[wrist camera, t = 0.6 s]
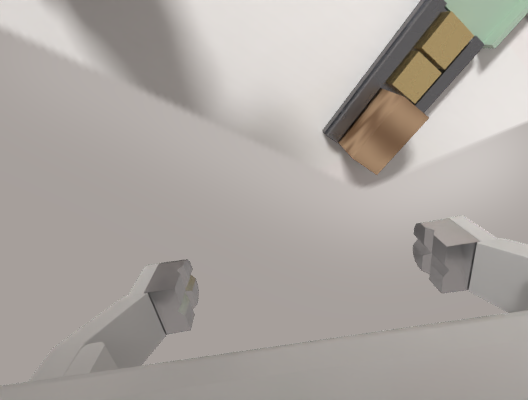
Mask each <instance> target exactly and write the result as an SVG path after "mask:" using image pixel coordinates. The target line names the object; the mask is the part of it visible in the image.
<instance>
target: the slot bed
mask: <svg viewBox="0 0 528 400" xmlns="http://www.w3.org/2000/svg"><path fill="white" fill-rule="evenodd" d="M446 4H447V3H446V2H445V1H444V0H421V1H420V2H419V3H418V5H417V6H416V7H415V9H414V10H413V11H412V13H411V14H410V15H409V17H408V18H407V19H406V21H405V22H404V23H403V25H402V26H401V27H400V29H399V30H398V31H397V33H396V34H395V35H394V37H393V38H392V39H391V41H390V42H389V43H388V45H387V46H386V47H385V48H384V50H383V51H382V52H381V54H380V55H379V56H378V58H377V59H376V60H375V62H374V63H373V64H372V66H371V67H370V68H369V70H368V71H367V72H366V74H365V75H364V76H363V78H362V79H361V80H360V82H359V83H358V84H357V86H356V87H355V88H354V90H353V91H352V92H351V94H350V95H349V96H348V97H347V99H346V100H345V101H344V103H343V104H342V105H341V107H340V108H339V109H338V111H337V112H336V113H335V115H334V116H333V117H332V119H331V120H330V121H329V123H328V124H327V125H326V127H325V128H324V129H323V132H324V133H325V134H326V135H327V136H328V137H330V138H331V139H332V140H334V141H335V142H339V141H340V139H341V138H342V137H343V136H344V134H345V133H346V132H347V131H348V129H349V128H350V127H351V126H352V124H353V123H354V122H355V121H356V119H357V118H358V117H359V116H360V114H361V113H362V112H363V111H364V109H365V108H366V107H367V106H368V104H369V103H370V102H371V101H372V99H373V98H374V97H375V95H376V94H377V93H378V92H379V90H380V89H381V88H382V89H385V90H387V91H390V92H393V93H395V94H398V95H401V94H399V93H398V92H397V91H396V90H395V89H393V88H392V87H391V86H390V85H389V84H388V83H386V82H387V80H388V79H389V78H390V77H391V75H392V74H393V73H394V72H395V70H396V69H397V68H398V67H399V65H400V64H401V63H402V62H403V60H404V59H405V58H406V57H407V55H408V54H409V53H410V52H411V51H417V50H416V49H415V48H414V47H415V45H416V44H417V43H418V42H419V40H420V39H421V38H422V37H423V35H424V34H425V33H426V32H427V30H428V29H429V28H430V27H431V25H432V24H433V23H434V21H435V20H436V19H437V18H438V16H439V15H440V14H441V13H442V12H447V10H446V9H445V8H444V7H445V6H446ZM484 45H485V44H484V43H483V42H482V41H481V40H480V39H479V38H478V37H477V36H474V37H473V38H472V39H471V40H470V41H469V42H468V44H467V45H466V46H465V47H464V48H463V49H462V50H461V52H460V53H459V54H458V55H457V56H456V57H455V58H454V60H453V61H452V62H451V63H450V64H449V65H448V67H447V68H446V69H445V70H443V69H438V70H439V71H440V72H441V75H440V76H439V77H438V78H437V79H436V80H435V81H434V83H433V84H432V85H431V86H430V87H429V88H428V89H427V91H426V92H425V93H424V94H423V95H422V96H421V98H420V99H419V100H418V101H417V102H416V103H412V102H411V103H412V104H413V105H415V106H416V107H417V108H418V109H419V110H420V111H422V112H423V113H424V112H425V111H426V110H427V109H428V108H429V107H430V105H431V104H432V103H433V102H434V101H435V100H436V99H437V98H438V96H439V95H440V94H441V93H442V92H443V91H444V90H445V89H446V88H447V86H448V85H449V84H450V83H451V82H452V81H453V80H454V79H455V78H456V76H457V75H458V74H459V73H460V72H461V71H462V70H463V69H464V67H465V66H466V65H467V64H468V63H469V62H470V61H471V60H472V59H473V57H474V56H475V55H476V54H477V53H478V52H479V51H480V50H481V49H482V47H483V46H484ZM401 96H402V95H401Z"/></svg>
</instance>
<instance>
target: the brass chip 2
mask: <svg viewBox="0 0 528 400" xmlns="http://www.w3.org/2000/svg"><path fill="white" fill-rule="evenodd" d="M473 37H474V35H473V34H472V33H471V32H470V30H469V29H468V28H467V27H466V26H465V25H464V24H463V23H462V22H461V21H460V20H459V18H458V17H457V16H456V15H455V14H454V13H453V12H452V11H447V12H442V13H441V14H440V15H439V16H438V18H437V19H436V20H435V21H434V23H433V24H432V25H431V27H430V28H429V29H428V30H427V32H426V33H425V34H424V35H423V37H422V38H421V39H420V40H419V42H418V43H417V44H416V45H415V47H414V48H415V49H416V50H417V51H419V52H420V53H421V54H422V55H423V56H424V57H425V58H426V59H428V60H429V61H430V62H431V63H432V64H433V65H434V66H435V67H436V68H437V69H443V70H445V69H446V68H447V67H448V65H449V64H450V63H451V62H452V61H453V60H454V58H455V57H456V56H457V55H458V54H459V53H460V52H461V50H462V49H463V48H464V47H465V46H466V45H467V44H468V42H469V41H470V40H471V39H472V38H473Z"/></svg>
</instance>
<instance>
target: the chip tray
mask: <svg viewBox="0 0 528 400" xmlns="http://www.w3.org/2000/svg"><path fill="white" fill-rule="evenodd" d="M444 1H445V2H446V3H447V4H446V6H445V7H444V8H445V9H446V10H447V11H452V12H453V13H454V14H455V15H456V16H457V17H458V18H459V20H460V21H461V22H462V23H463V24H464V25H465V26H466V27H467V28H468V29H469V30H470V32H471V33H472V34H473V35H474V36H477V37H478V38H479V39H480V40H481V41H482V42H483V43H484V44H485V45H484V46H483V47H482V48H496V47H497V46H498V45H499V44H500V43H501V42H502V40H503V39H504V38H505V37H506V36H507V35H508V34H509V33H510V32H511V31H512V30H513V28H514V27H515V26H516V25H517V24H518V23H519V22H520V21H521V20H522V19H523V18H524V16H525V15H526V14H527V13H528V0H444Z"/></svg>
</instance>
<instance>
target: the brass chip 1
mask: <svg viewBox="0 0 528 400" xmlns="http://www.w3.org/2000/svg"><path fill="white" fill-rule="evenodd" d="M440 75H441V72H440V71H439V70H438V69H437V68H436V67H435V66H434V65H433V64H432V63H431V62H430V61H429V60H428V59H426V58H425V57H424V56H423V55H422V54H421V53H420V52H419V51H411V52H410V53H409V54H408V55H407V57H406V58H405V59H404V60H403V62H402V63H401V64H400V65H399V67H398V68H397V69H396V70H395V72H394V73H393V74H392V75H391V77H390V78H389V79H388V80H387V82H386V83H388V84H389V85H390V86H391V87H392V88H393V89H395V90H396V91H397V92H398V93H399V94H401V95H402V96H403V97H405V98H406V99H408V100H409V101H410V102H412V103H416V102H417V101H418V100H419V99H420V98H421V96H422V95H423V94H424V93H425V92H426V91H427V89H428V88H429V87H430V86H431V85H432V84H433V83H434V81H435V80H436V79H437V78H438V77H439V76H440Z"/></svg>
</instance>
